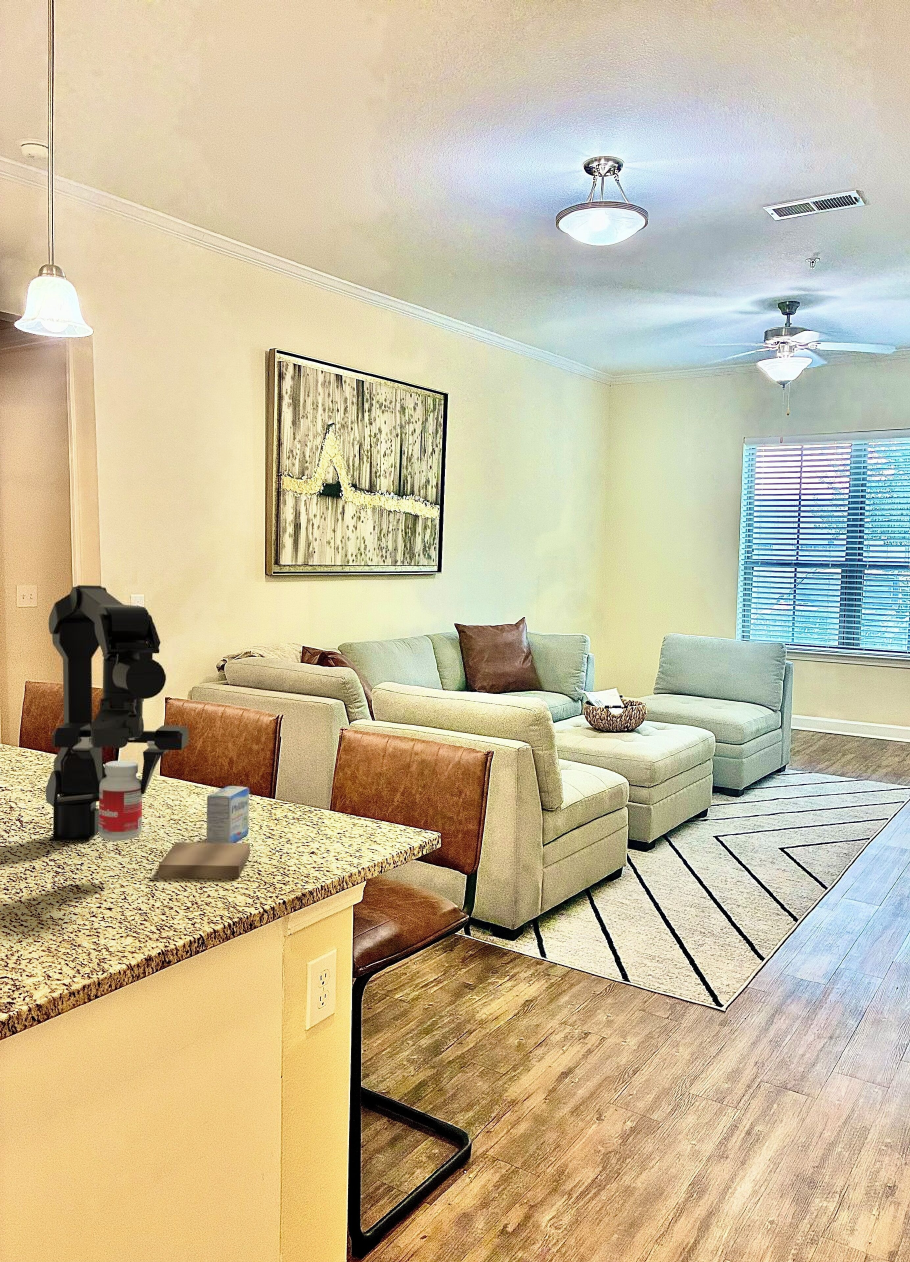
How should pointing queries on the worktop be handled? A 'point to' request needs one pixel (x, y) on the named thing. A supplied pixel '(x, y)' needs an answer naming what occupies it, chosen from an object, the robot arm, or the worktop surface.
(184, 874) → the walnut plinth
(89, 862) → the worktop surface
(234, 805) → the medicine box
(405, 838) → the worktop surface
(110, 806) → the pill bottle
